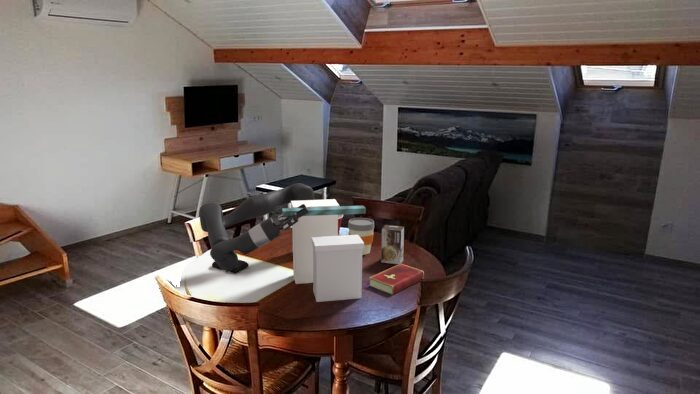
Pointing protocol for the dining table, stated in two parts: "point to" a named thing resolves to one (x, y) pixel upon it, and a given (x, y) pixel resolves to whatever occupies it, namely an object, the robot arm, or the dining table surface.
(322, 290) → the low stand
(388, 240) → the coffee box
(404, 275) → the hardcover book
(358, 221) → the reusable coffee cup
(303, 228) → the tall stand
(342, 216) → the plastic cup
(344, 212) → the slat
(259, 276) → the dining table surface
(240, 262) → the carrying case or bag
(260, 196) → the robot arm
